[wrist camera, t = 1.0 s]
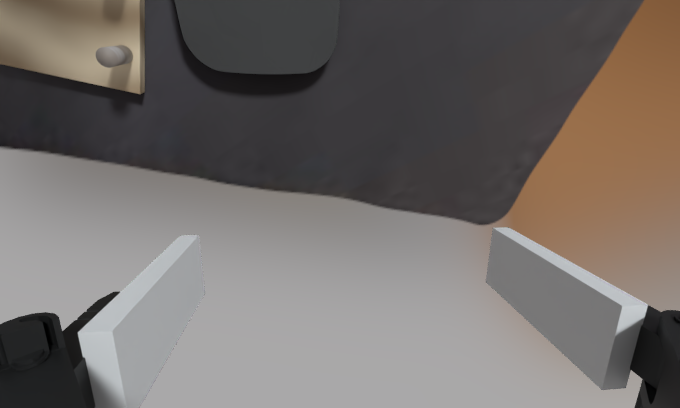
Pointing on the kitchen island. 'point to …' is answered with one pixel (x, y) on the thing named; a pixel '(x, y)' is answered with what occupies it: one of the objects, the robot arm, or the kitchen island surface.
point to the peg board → (77, 40)
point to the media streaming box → (260, 34)
